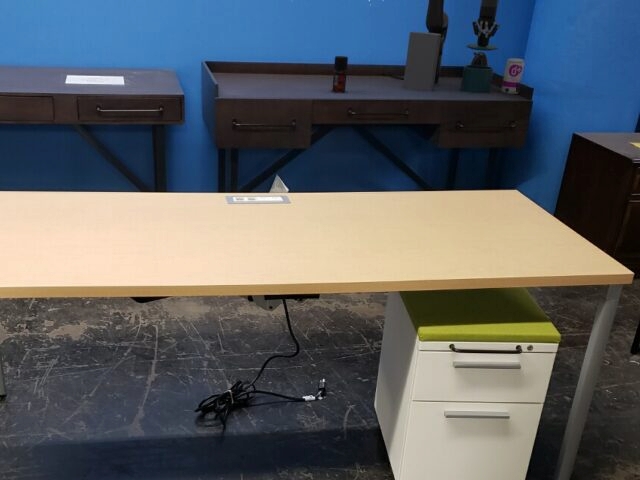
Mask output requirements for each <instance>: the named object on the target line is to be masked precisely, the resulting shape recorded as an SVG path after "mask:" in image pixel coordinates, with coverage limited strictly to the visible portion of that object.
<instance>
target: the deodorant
mask: <svg viewBox="0 0 640 480" xmlns="http://www.w3.org/2000/svg"><path fill="white" fill-rule="evenodd" d="M348 62H349V57H348V56H343V55H336V56H334V64H333V78H332V89H331V90H332V92H333V93H335V94H344V93H346V84H347V74H348V64H349V63H348Z"/></svg>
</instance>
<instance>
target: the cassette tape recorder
mask: <svg viewBox="0 0 640 480" xmlns="http://www.w3.org/2000/svg"><path fill="white" fill-rule="evenodd" d="M440 40H441V34H436V33H428V32H426V31H425V32H423V31H415V30H414V31H411V32H409V36H408V44H407V53H406V60H405V68H404V75H403V78H404V80H403V85H402V88H403V89H410V90H417V91H425V92H432V91H434V90H435V85H434V81H435V74H436V67H437V61H438V54H439V47H440Z"/></svg>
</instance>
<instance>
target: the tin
mask: <svg viewBox="0 0 640 480" xmlns="http://www.w3.org/2000/svg"><path fill="white" fill-rule="evenodd" d="M494 70H495V68H494V67H492V66H489V65H488V66H482V65H470V64H466V65H463V70H462V76H461V84H460V90H461V91H462V92H465V93H472V94H473V93H474V94H488V93H490V91H491V86H492V80H493V75H494Z"/></svg>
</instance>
